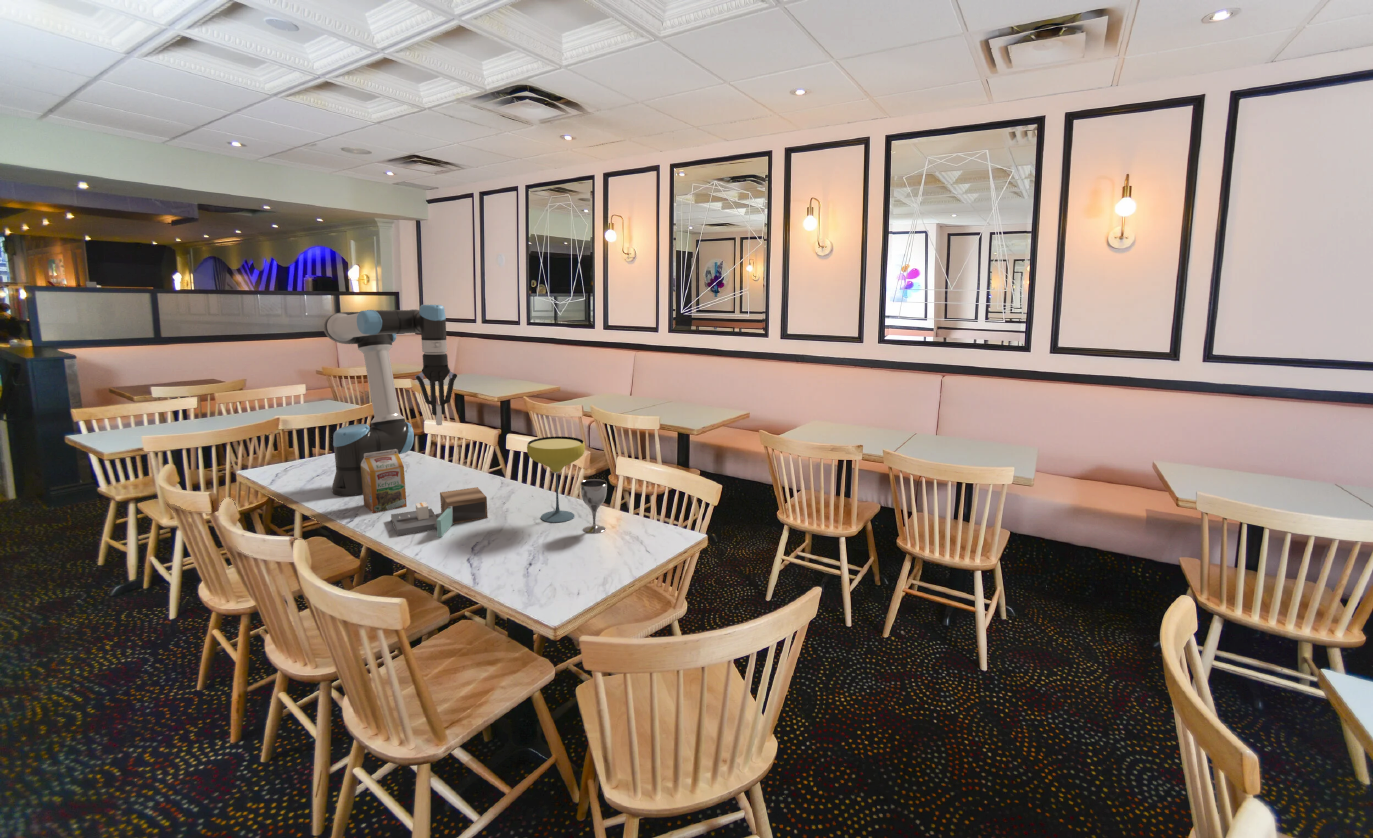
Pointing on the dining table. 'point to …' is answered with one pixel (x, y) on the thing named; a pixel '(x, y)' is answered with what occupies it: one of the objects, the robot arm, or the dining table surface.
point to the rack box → (465, 504)
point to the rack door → (444, 521)
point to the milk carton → (383, 481)
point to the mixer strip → (413, 522)
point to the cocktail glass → (556, 464)
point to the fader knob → (422, 511)
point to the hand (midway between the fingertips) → (439, 424)
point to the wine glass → (593, 500)
